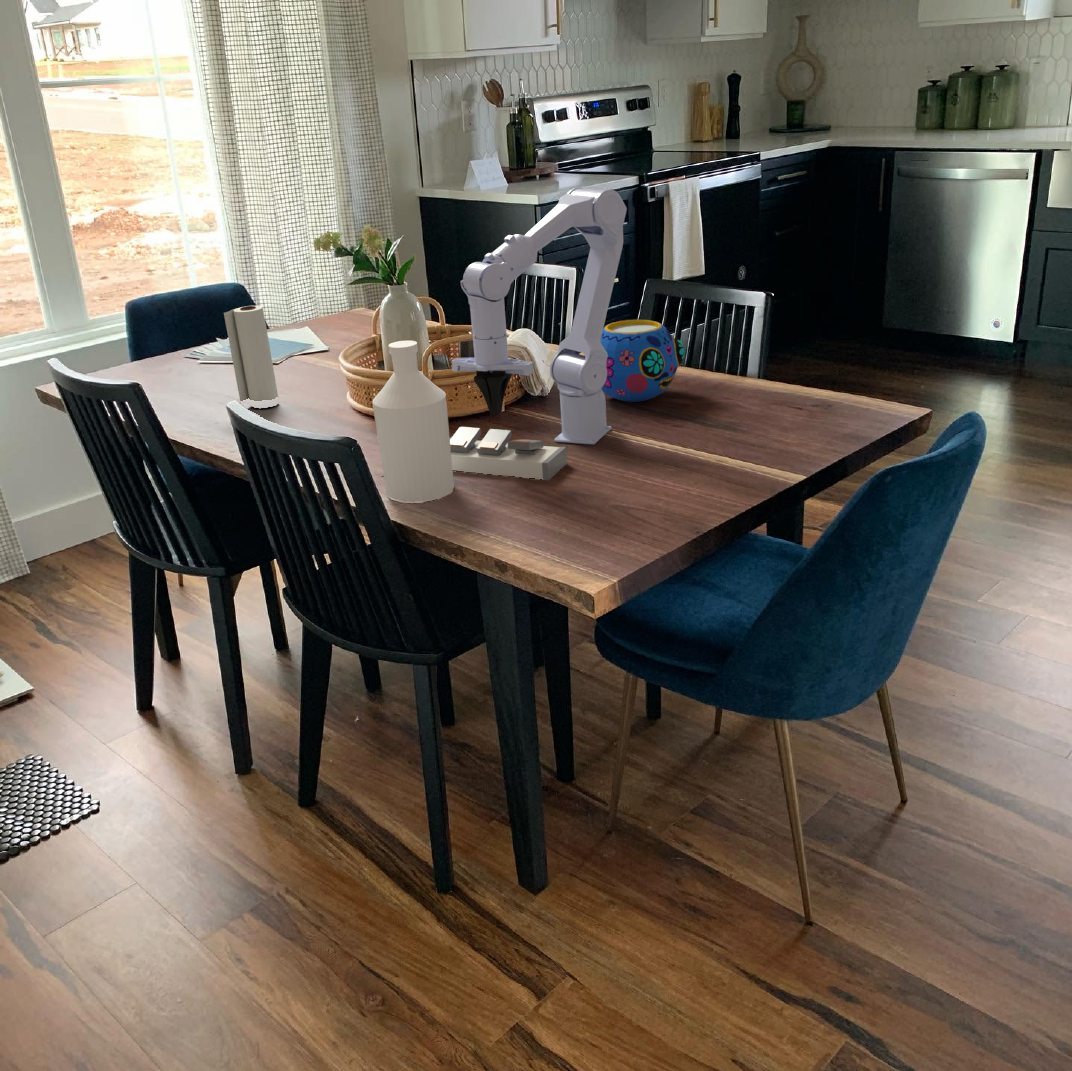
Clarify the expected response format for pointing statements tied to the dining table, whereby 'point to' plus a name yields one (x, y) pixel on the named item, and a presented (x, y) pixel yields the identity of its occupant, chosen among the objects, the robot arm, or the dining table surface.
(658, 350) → the ceramic pot
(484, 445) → the rocker
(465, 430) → the block
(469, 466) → the power strip
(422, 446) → the bottle
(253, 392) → the paper towel roll
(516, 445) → the rocker
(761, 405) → the dining table surface
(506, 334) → the robot arm
